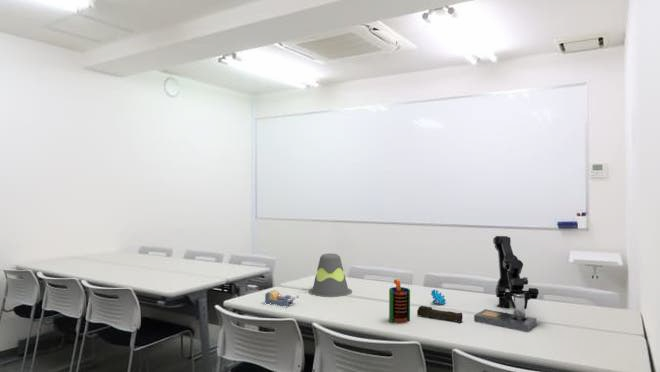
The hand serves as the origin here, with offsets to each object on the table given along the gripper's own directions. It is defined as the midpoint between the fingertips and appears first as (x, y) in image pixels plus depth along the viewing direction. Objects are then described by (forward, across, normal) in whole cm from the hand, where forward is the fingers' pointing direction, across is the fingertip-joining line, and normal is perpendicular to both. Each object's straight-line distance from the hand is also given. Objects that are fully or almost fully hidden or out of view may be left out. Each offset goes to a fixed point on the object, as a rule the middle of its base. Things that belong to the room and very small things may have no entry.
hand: (519, 308), depth 204 cm
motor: (+7, -57, +5) cm, 58 cm away
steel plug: (+4, 0, +6) cm, 7 cm away
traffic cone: (-30, -102, +43) cm, 115 cm away
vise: (-6, -124, +19) cm, 126 cm away
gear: (-18, -36, +31) cm, 50 cm away
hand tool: (+3, -37, +9) cm, 39 cm away
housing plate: (+4, -6, +8) cm, 11 cm away
